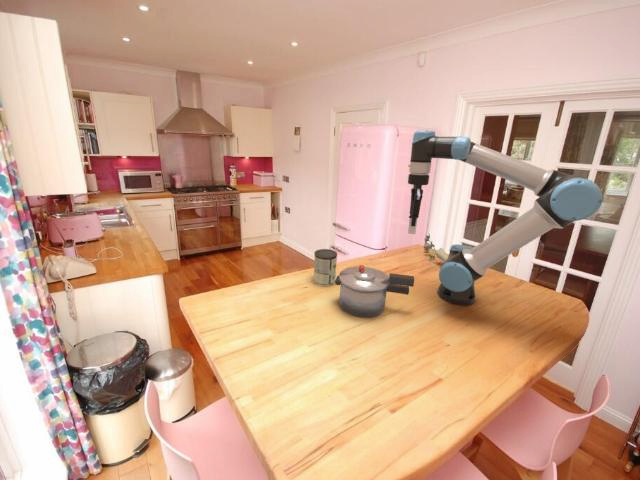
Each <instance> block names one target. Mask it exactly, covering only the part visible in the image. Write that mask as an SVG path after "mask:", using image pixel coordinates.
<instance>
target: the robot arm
mask: <svg viewBox="0 0 640 480" xmlns="http://www.w3.org/2000/svg"><path fill="white" fill-rule="evenodd" d="M432 159H444V160H456V161H461V162H464V163H466V164H468V165H471V166H473V167H475V168H478V169H480V170H482V171H485V172H487V173H490V174H491V175H492V174H493V175H494V176H497V177H500V178H502V179H504V180H507V181H509V182H511V183H514V184H515V185H518V186H520V187H523V188H526V189H527V190H530V191H532V192H533V193H534V196H536V197H537V198H536V199H535V200H534V202H533V203H534V204H533V206H532V207H531V208H530V209H529V210H527V211H526V212H524V213H523V214H521V215H520V216H518V217H517V218H515V219H514V220H512V221H511V222H510V223H508V224H506V225H504V227H502V228H501V229H499V230H497V231H496V232H495V233H493V234H491V235H490V236H488V237H487V238H485V239H484V240H483V241H481V242H480V243H478V244H477V245H475V246H474V247H473V246H470V245H465V244H452V245H451V246H450V249H449V250H448V251H449V254H448V256H449V257H448V258H447V260H446V261H445V262H443V264H442V265H441V266H440V267H439V272H438V278H439V282H440V284H439V286H438V287H437V295H438V297H440V298H441V299H442V300H444V301H446V302H448V303H451V304H454V305H459V306H470V305H472V304H474V303H475V301H476V298H477V297H476V296H477V295H476V289H475V282H476V281H478V280H479V279H481V278H483V277H484V276H486V274H487V270H488V269H489V268H491V267H492V266H494V265H495V264H497V263H499V262H500V261H501V260H504V259H505V258H507V257H508V256H510V255H512V254H513V253H515V252H517V251H518V250H520V249H521V248H523V247H524V246H527V245H528V244H529V243H531V242H533V241H535V240H536V239H538V238H540V237H541V236H543V235H544V234H546V233H547V232H549V231H551V230H553V229H564V228H566V227H567V226H570V225H571V224H573V223H575V222H576V221H577V222H578V221H581V220H586V219H588V218H590V217H592V216H593V215H595V214H596V213H597V212H598V211H599V210H600V208H601V206H602V203H603V198H604V197H603V192H602V190H601V188H600V187H599V186H598V184H597V183H595V182H594V181H592V180H591V179H589V178H588V179H587V178H585V177H582V176H579V175H573V174H569V173H566V172H565V173H564V172H561V171H558V170H556V169H550V170H547V169H544V168H541V167H538V166H536V165H534V164H530V163H529V162H526V161H523V160H521V159H518V158H515V157H512V156H510V155H507V154H504V153H502V152H500V151H497V150H494V149H491V148H489V147H486V146H484V145H482V144H479V143H476V142H473V141H471V138H470V137H468V136H460V135H459V136H437V135H436V131H435V130H420V129H419V130H416V131H414V133H413V137H412V142H411V152H410V160H409V164H407V166H408V168H409V169H408V171H409V174H408V177H407V178H408V179H407V183H408V184H409V185H412V186H413V187H412V188H410V189H411V190H410V193H411V195H410V205H409V207H410V208H409V216H408V219H409V221H408V231H407V233H408V234H409V235H410V234H411V235H416V231H417V226H418V225H417V222H418V218H419V217H420V210H421V203H422V199H423V193H424V190H423V189H422V188H423V186H427V185H429V181H430V175H429V174H430V173H431V168H432Z"/></svg>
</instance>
